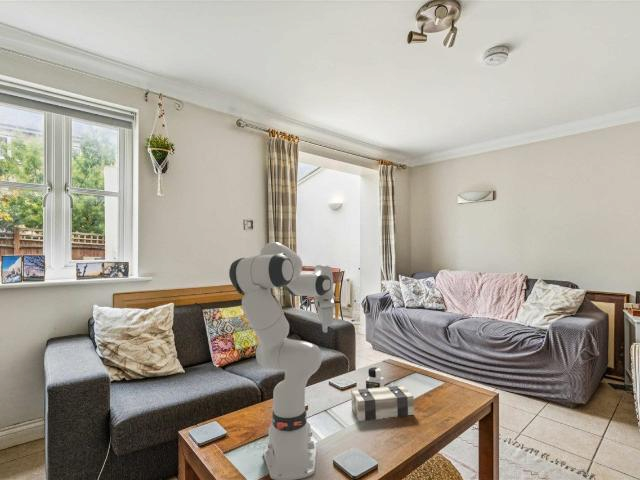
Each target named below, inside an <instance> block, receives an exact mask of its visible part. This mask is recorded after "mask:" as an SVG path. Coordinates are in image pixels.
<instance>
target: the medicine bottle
mask: <svg viewBox="0 0 640 480" xmlns="http://www.w3.org/2000/svg"><path fill="white" fill-rule="evenodd" d="M367 370H368V377H367V379H366V380H365V389H368V388H379V387H385V377H382V370H381V368H378V367H370V368H369V369H367Z"/></svg>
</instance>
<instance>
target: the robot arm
mask: <svg viewBox="0 0 640 480" xmlns="http://www.w3.org/2000/svg"><path fill="white" fill-rule="evenodd" d="M259 252H260V253H259V254H260V255H257V254H256V255H253V256H249V257H241V258H238V259H235V260H234V261H232V263H231V264H230V267H229V271H228V276H229V277H228V278H229V280H230V281H231V284H232V286H233V288H235V291H236V292H237V293H238V294H240V295H241V296H242V298H241V307H242V310H243V312H244V314H245V318H246V320H247V321H248V323H249V325H250V327H251V329H252V330H253V331H254V332H253V333H254V334H255V335H256V337H257V339H258V341H259V343H258V344H257V346H256V349H255V357H256V361H257V363H258V364H259V365H260V366H263V367H265V368H267V369H270V370H275V371H281V372H284V379H283V380H281V381H280V382H278V383H277V384H276V385H275V387H274V389H273V392H272V394H273V395H272V396H273V399H272V400H273V410H272V416H271V419H272V423H271V425H270V427H269V428H268V446H267V447H266V448H265V449H264V450H263V452H262V453H263V454H262V455H263V458H264V461H265V465H266V468H267V471H268V474H269V477H270V479H272V480H300V479H304V478H307V477H310V476H312V475H314V474H315V472H316V464H317V453H318V446H317V444H315V442H314V441H313V440H312V437H313V432H312V429H311V424H310V423H309V422H308V420H307V417H308V416H307V408H306V406H305V405H306V402H305V401H306V395H305V394H306V387H307V384H308V381H309V379H310V378H311V376H312V375H313V374H315V373H317V371H318V370H319V368H320V367H321V365H322V360H323V359H322V358H323V355H322V352H321V349H320V347H319V346H318V345H317V344H315V343H312V342H309V341H305V340H299V339H298V340H297V339H291V338H288V335H289V332H290V323H289V321H288V320H287V318H286V316H285V313H284V312H283V310H282V308H281V306H280V304H279V303H278V301H277V300H276V298H274V296H273V295H272V289H274V288H278V289H279V288H282V287H283V288H285V289H286V290H287V292H288V293H289V295H290V296H292V297H301V296H302V297H313V299H314V303H313V304H314V306H316V308H317V319H318V320H319V321H320V322H321V327H322V332H323V333H328V327H329V326H332V325H333V321H334V308H335V299H334V298H335V296H334V290H333V289H334V288H333V287H334V275H333V270H332V269H333V268H332V267H331V266H329V265H325V264H317V265H315V266H314V270H313V272H312V273H302V270H303V261H302V259H301V257H300V255H298V254H297V253H296V252H295V251H294V250H292V249H291V248H289V247H288V246H286V245H285V244H282V243H280V242H276V241H270V242H268V243H266V244H265V245H264V246H263V247H262V248H261V250H260V251H259Z"/></svg>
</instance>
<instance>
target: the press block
mask: <svg viewBox="0 0 640 480" xmlns="http://www.w3.org/2000/svg"><path fill="white" fill-rule="evenodd" d="M393 390H400V391H402V393H401V394H393V393H392V391H393ZM350 392H351V409H352V411H353V413H354V415H355V417H356V419H357V420H358V422H365V421H374V420H383V418H385V419H389V418H388V417H395V418H398V417H397V416H404V417H409V416H408V415H414V416H415V403H414V401H415V400H414V395H413V394H412V393H411V392H410V391H409V390H408V389H407V388H406V387H405V386H404V385H392V386H384V387H379V388H368V389H366V388H359V389H358V388H357V389H351V391H350ZM362 393H370V394H371V396H369V397H362V396H361V394H362Z"/></svg>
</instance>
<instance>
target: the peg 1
mask: <svg viewBox="0 0 640 480" xmlns="http://www.w3.org/2000/svg"><path fill="white" fill-rule="evenodd" d="M361 396H362V397H369V396H371V394H370V393H362V394H361Z"/></svg>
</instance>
